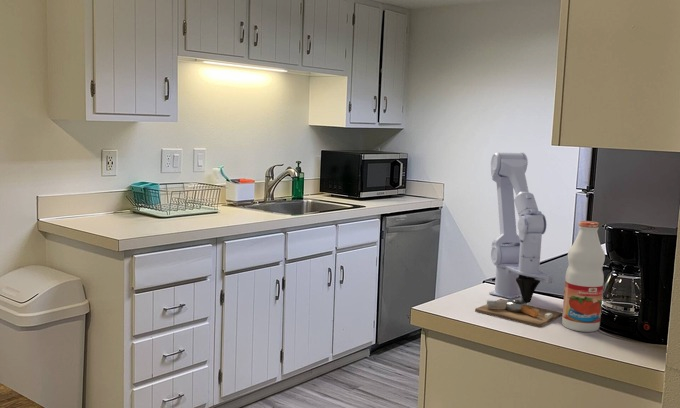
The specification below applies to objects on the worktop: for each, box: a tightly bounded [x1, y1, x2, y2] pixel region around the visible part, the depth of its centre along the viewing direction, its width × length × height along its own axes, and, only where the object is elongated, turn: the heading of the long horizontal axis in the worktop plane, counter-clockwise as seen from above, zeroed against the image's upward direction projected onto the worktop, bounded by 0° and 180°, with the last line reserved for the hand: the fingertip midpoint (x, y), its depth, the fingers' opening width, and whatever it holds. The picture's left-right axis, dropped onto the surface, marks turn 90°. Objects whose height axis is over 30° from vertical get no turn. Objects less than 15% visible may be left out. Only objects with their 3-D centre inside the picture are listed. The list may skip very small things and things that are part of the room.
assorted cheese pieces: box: [486, 296, 539, 317], centre depth 182 cm, size 13×15×3 cm
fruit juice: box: [561, 220, 606, 333], centre depth 171 cm, size 9×9×28 cm
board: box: [474, 298, 563, 328], centre depth 183 cm, size 15×19×1 cm
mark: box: [545, 313, 553, 319], centre depth 177 cm, size 2×1×1 cm, turn 139°
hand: (526, 302), depth 188 cm, fingers closed, pressing on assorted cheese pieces
